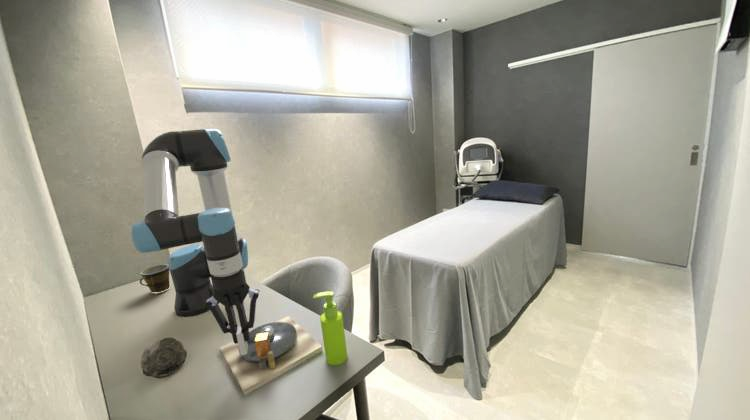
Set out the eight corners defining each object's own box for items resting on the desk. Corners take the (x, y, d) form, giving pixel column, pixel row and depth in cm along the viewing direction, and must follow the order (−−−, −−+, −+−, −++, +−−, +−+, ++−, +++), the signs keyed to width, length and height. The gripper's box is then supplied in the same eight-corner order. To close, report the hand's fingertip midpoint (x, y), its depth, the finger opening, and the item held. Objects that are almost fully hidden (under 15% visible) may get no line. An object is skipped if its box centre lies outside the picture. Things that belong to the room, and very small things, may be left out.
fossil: (166, 383, 83) (141, 354, 81) (146, 393, 86) (122, 365, 84) (196, 353, 93) (175, 327, 91) (177, 363, 96) (156, 337, 94)
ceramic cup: (159, 284, 142) (154, 264, 140) (179, 284, 141) (174, 264, 138) (134, 300, 130) (128, 278, 127) (156, 300, 128) (150, 278, 126)
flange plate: (246, 331, 98) (242, 312, 97) (298, 322, 101) (295, 304, 99) (230, 373, 81) (225, 352, 79) (294, 362, 83) (290, 340, 82)
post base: (220, 351, 94) (216, 334, 93) (289, 319, 107) (286, 304, 106) (244, 395, 78) (240, 374, 76) (322, 350, 91) (319, 332, 89)
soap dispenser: (323, 352, 90) (314, 289, 85) (347, 349, 91) (339, 286, 86) (321, 367, 85) (311, 300, 80) (347, 363, 85) (339, 297, 80)
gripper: (193, 282, 73) (215, 367, 80) (252, 272, 76) (268, 355, 82) (202, 269, 80) (221, 347, 87) (256, 260, 83) (270, 337, 89)
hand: (244, 351), depth 84 cm, fingers closed
